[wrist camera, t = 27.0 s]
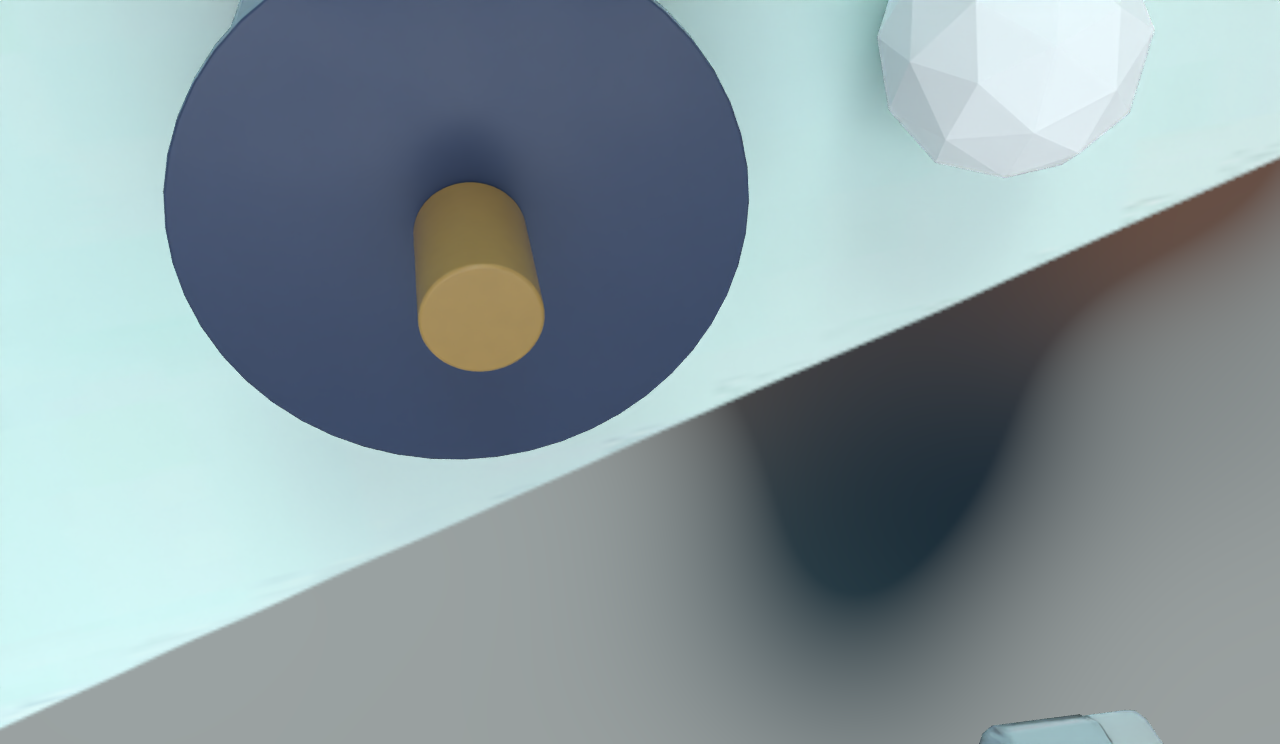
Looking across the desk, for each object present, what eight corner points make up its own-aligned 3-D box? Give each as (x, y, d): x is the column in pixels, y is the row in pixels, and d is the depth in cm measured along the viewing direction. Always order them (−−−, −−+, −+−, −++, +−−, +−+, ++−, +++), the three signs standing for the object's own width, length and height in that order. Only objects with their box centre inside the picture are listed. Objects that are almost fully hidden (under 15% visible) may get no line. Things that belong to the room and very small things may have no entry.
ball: (970, 17, 42) (1089, 203, 39) (789, 42, 38) (907, 250, 36) (1112, -161, 35) (1264, 48, 33) (911, -151, 32) (1066, 85, 29)
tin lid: (653, -171, 24) (709, -119, 20) (788, 336, 32) (849, 449, 28) (48, 48, 25) (-20, 144, 21) (326, 499, 32) (319, 635, 28)
